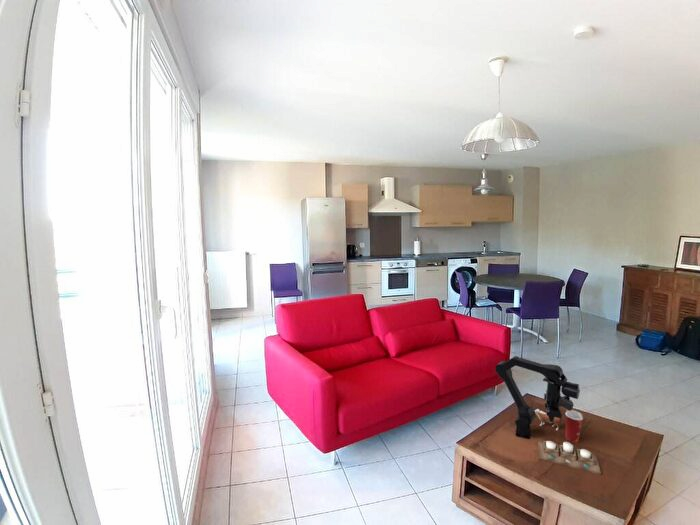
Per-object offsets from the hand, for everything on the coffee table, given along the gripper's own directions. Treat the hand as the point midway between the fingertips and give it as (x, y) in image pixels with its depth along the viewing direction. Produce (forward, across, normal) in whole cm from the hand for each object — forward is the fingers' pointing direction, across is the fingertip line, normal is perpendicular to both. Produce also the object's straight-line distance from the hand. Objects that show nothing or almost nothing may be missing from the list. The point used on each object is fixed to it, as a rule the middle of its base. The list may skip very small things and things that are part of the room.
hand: (551, 421), depth 171 cm
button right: (+12, -6, -14) cm, 19 cm away
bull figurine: (+13, +18, 0) cm, 22 cm away
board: (+13, -7, -7) cm, 16 cm away
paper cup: (+13, +11, -11) cm, 20 cm away
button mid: (+10, -6, -7) cm, 14 cm away
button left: (+12, -6, 0) cm, 13 cm away
